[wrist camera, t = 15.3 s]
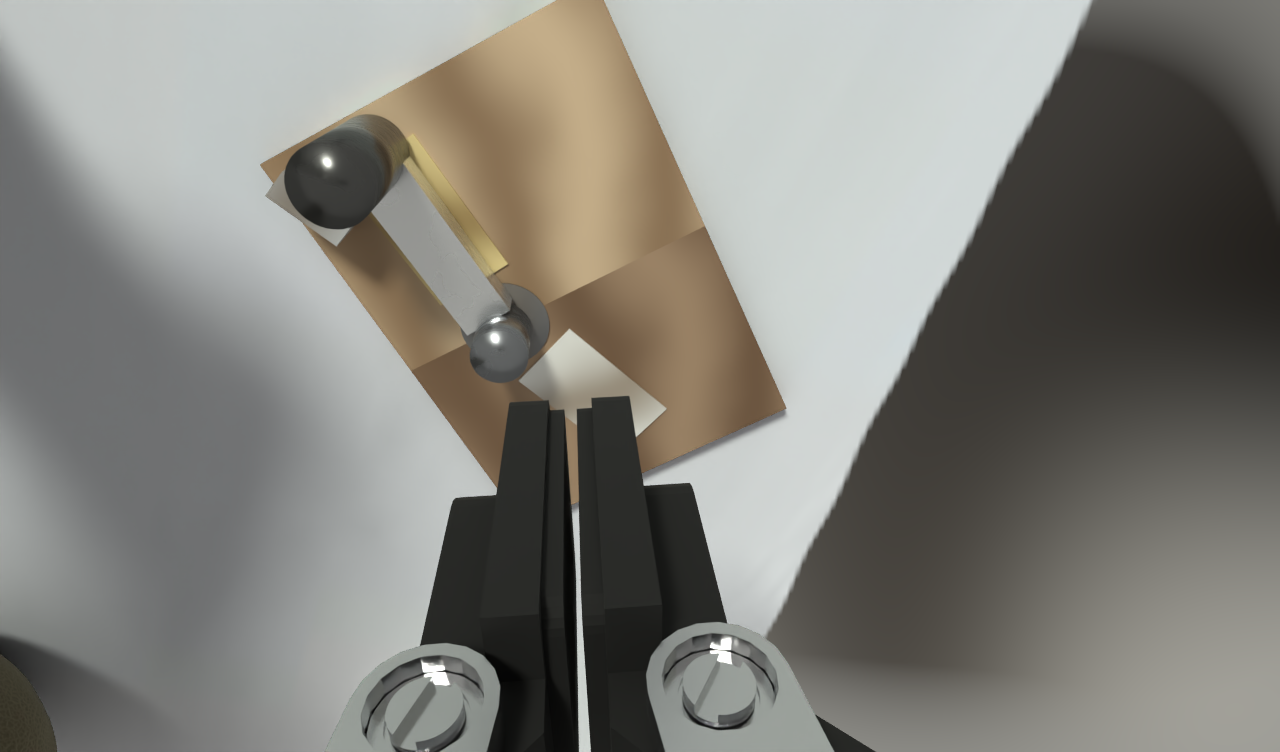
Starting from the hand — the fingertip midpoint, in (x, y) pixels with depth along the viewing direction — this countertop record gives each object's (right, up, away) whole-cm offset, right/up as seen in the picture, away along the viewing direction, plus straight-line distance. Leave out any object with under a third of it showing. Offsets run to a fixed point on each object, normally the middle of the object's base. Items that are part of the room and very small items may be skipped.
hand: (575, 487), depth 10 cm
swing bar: (-7, +7, +20) cm, 23 cm away
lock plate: (-3, +5, +23) cm, 24 cm away
